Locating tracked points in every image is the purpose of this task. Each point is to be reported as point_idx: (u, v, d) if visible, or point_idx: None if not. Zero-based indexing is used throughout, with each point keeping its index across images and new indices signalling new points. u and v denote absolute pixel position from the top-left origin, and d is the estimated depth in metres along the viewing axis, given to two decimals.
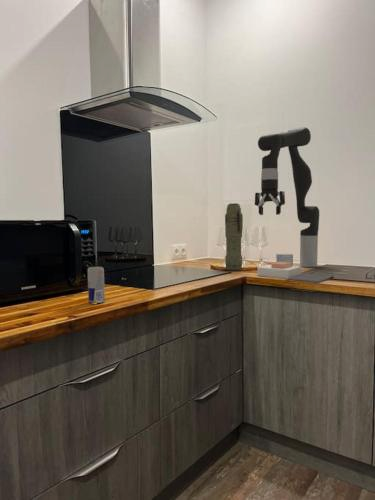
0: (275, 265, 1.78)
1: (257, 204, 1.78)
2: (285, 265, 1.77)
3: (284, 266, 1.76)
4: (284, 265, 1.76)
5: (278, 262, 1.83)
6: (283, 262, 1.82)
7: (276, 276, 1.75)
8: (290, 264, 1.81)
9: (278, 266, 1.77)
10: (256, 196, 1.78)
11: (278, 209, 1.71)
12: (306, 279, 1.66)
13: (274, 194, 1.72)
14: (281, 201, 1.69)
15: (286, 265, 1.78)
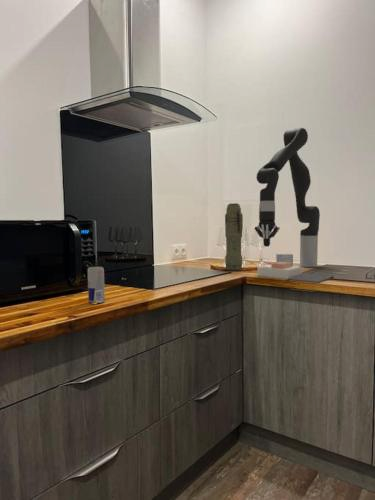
0: (275, 265, 1.78)
1: (262, 235, 1.85)
2: (285, 265, 1.77)
3: (284, 266, 1.76)
4: (284, 265, 1.76)
5: (278, 262, 1.83)
6: (283, 262, 1.82)
7: (276, 276, 1.75)
8: (290, 264, 1.81)
9: (278, 266, 1.77)
10: (257, 230, 1.86)
11: (267, 241, 1.83)
12: (306, 279, 1.66)
13: (270, 228, 1.81)
14: (270, 234, 1.82)
15: (286, 265, 1.78)
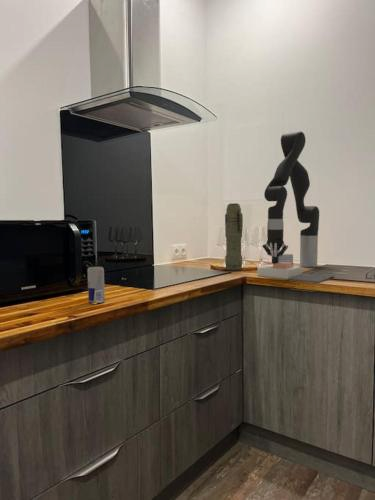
0: (277, 265, 1.77)
1: (270, 253, 1.83)
2: (287, 265, 1.76)
3: (286, 266, 1.76)
4: (286, 265, 1.75)
5: (280, 262, 1.82)
6: (285, 262, 1.82)
7: (276, 276, 1.75)
8: (292, 264, 1.80)
9: (280, 266, 1.76)
10: (265, 247, 1.84)
11: (276, 260, 1.81)
12: (306, 279, 1.66)
13: (279, 246, 1.79)
14: (279, 253, 1.80)
15: (288, 265, 1.77)
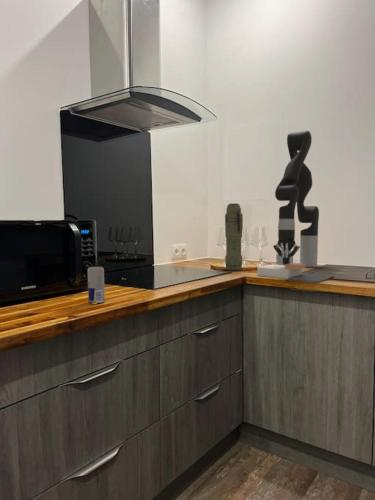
0: (289, 266, 1.73)
1: (281, 254, 1.79)
2: (299, 266, 1.73)
3: (298, 267, 1.72)
4: (298, 266, 1.72)
5: (291, 263, 1.78)
6: (296, 263, 1.78)
7: (276, 276, 1.75)
8: (304, 265, 1.76)
9: (292, 267, 1.72)
10: (276, 248, 1.80)
11: (287, 260, 1.77)
12: (306, 279, 1.66)
13: (290, 246, 1.75)
14: (290, 253, 1.76)
15: (300, 266, 1.73)
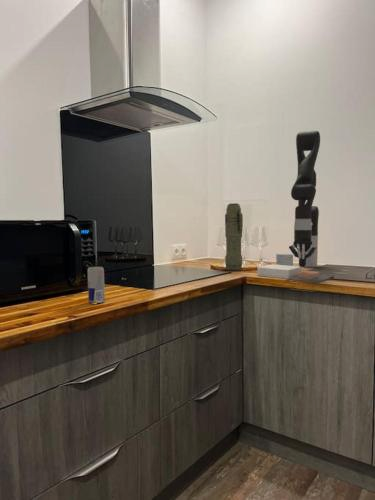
0: (306, 276, 1.68)
1: (297, 255, 1.74)
2: None
3: None
4: None
5: None
6: None
7: (276, 276, 1.75)
8: None
9: (303, 275, 1.69)
10: (291, 249, 1.75)
11: (303, 262, 1.72)
12: (306, 279, 1.66)
13: (307, 247, 1.70)
14: (307, 254, 1.70)
15: None
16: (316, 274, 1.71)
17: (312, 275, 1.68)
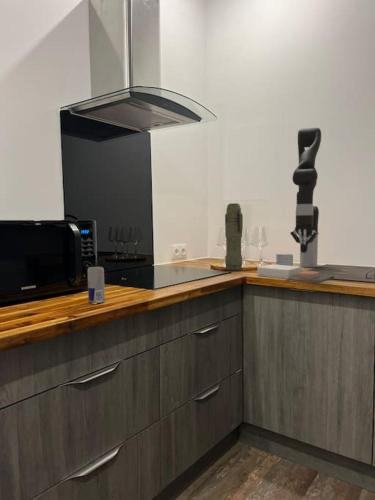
0: (306, 276, 1.68)
1: (299, 240, 1.73)
2: None
3: None
4: None
5: None
6: None
7: (276, 276, 1.75)
8: None
9: (303, 275, 1.69)
10: (293, 235, 1.74)
11: (305, 247, 1.71)
12: (306, 279, 1.66)
13: (308, 233, 1.69)
14: (308, 240, 1.70)
15: None
16: (316, 274, 1.71)
17: (312, 275, 1.68)
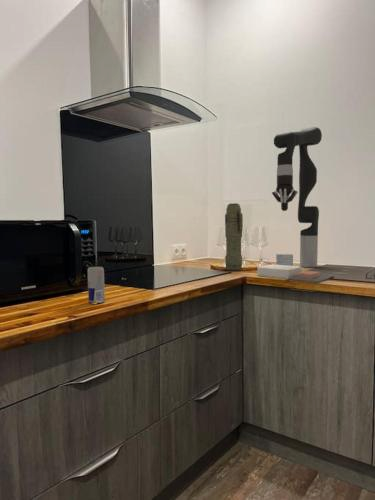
0: (306, 276, 1.68)
1: (280, 200, 1.86)
2: None
3: None
4: None
5: None
6: None
7: (276, 276, 1.75)
8: None
9: (303, 275, 1.69)
10: (274, 194, 1.87)
11: (285, 206, 1.84)
12: (306, 279, 1.66)
13: (288, 191, 1.82)
14: (288, 198, 1.83)
15: None
16: (316, 274, 1.71)
17: (312, 275, 1.68)
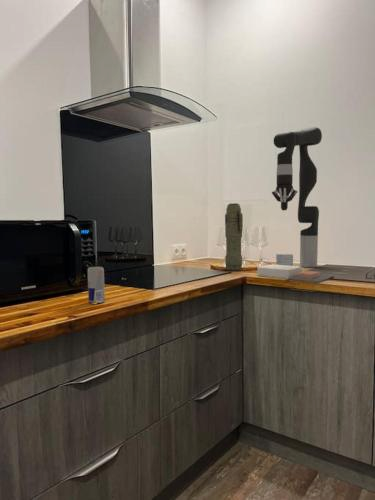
0: (306, 276, 1.68)
1: (279, 199, 1.86)
2: None
3: None
4: None
5: None
6: None
7: (276, 276, 1.75)
8: None
9: (303, 275, 1.69)
10: (274, 194, 1.88)
11: (285, 205, 1.85)
12: (306, 279, 1.66)
13: (288, 191, 1.83)
14: (288, 198, 1.83)
15: None
16: (316, 274, 1.71)
17: (312, 275, 1.68)
